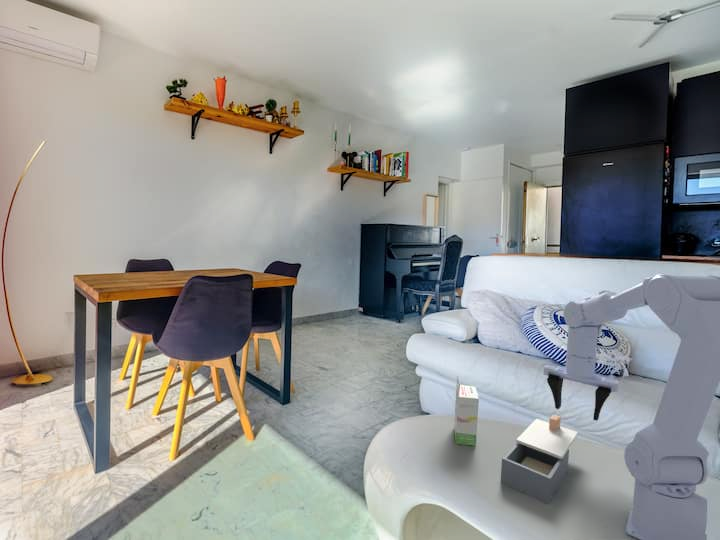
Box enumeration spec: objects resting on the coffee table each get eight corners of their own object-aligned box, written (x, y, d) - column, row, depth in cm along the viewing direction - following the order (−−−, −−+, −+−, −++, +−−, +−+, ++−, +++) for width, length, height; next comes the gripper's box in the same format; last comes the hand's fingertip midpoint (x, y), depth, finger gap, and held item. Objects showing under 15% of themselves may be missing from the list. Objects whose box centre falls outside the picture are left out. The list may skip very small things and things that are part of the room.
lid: (577, 434, 84) (578, 421, 84) (561, 459, 74) (562, 444, 73) (536, 420, 90) (537, 408, 90) (516, 442, 80) (517, 428, 79)
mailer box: (567, 471, 78) (569, 449, 78) (548, 504, 68) (550, 478, 68) (523, 454, 84) (525, 433, 84) (500, 482, 74) (502, 458, 74)
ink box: (476, 447, 87) (480, 386, 86) (455, 444, 88) (458, 384, 87) (473, 429, 95) (476, 374, 94) (453, 427, 96) (456, 372, 95)
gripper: (622, 358, 81) (617, 418, 82) (551, 345, 91) (547, 398, 91) (617, 365, 76) (612, 429, 77) (542, 350, 85) (538, 406, 86)
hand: (576, 413), depth 84 cm, fingers open, 7 cm apart
